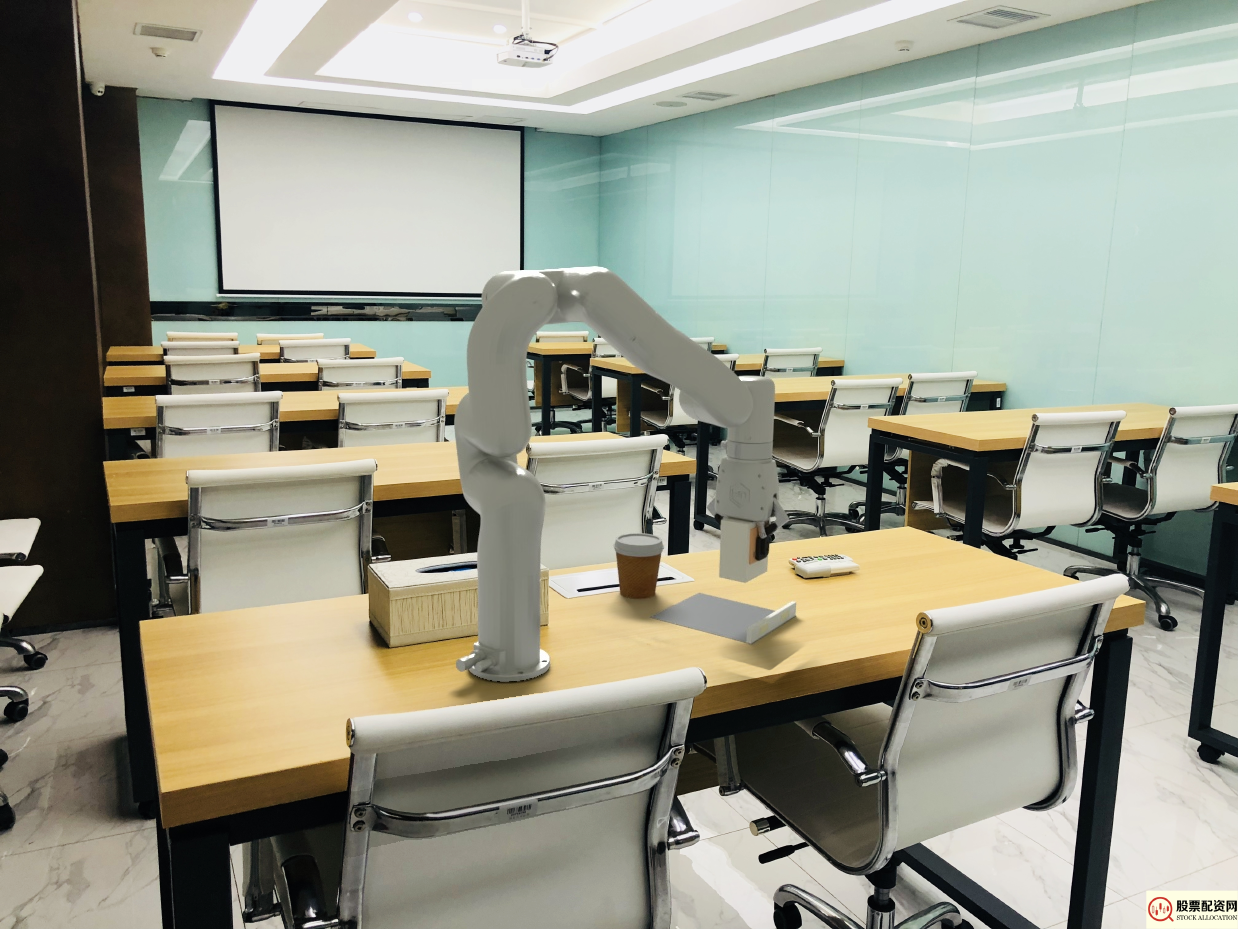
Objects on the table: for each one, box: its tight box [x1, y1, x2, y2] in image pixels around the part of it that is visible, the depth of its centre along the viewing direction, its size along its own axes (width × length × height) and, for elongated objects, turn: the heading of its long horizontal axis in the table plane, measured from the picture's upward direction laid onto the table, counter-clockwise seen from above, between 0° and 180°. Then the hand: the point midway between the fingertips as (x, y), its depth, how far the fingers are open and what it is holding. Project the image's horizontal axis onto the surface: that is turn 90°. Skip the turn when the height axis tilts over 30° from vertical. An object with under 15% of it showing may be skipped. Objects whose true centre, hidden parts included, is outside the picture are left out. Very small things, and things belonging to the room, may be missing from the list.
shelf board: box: [649, 592, 797, 645], centre depth 163 cm, size 17×20×4 cm
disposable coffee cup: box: [612, 532, 665, 600], centre depth 174 cm, size 10×10×12 cm
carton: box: [718, 517, 769, 584], centre depth 157 cm, size 5×8×10 cm
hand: (745, 554), depth 158 cm, fingers closed on carton, 5 cm apart
